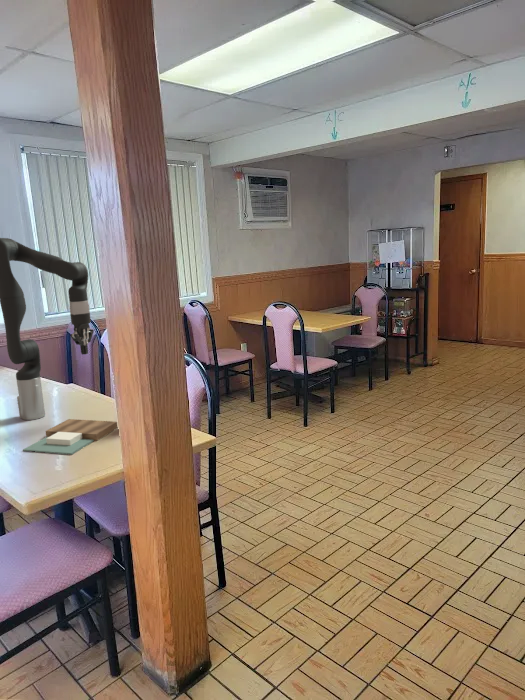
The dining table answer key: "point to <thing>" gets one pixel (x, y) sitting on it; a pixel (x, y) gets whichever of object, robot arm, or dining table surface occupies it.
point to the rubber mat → (58, 447)
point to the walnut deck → (84, 428)
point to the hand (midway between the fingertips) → (84, 354)
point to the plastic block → (64, 438)
